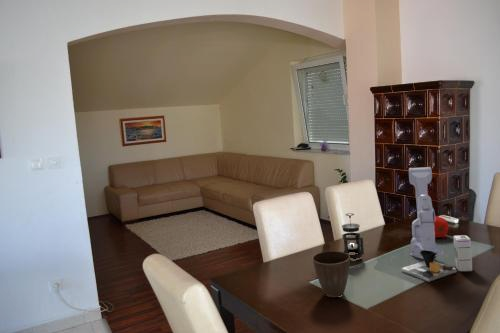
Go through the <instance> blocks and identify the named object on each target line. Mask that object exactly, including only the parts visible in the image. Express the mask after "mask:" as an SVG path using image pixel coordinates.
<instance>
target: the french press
mask: <svg viewBox="0 0 500 333" xmlns="http://www.w3.org/2000/svg"><path fill="white" fill-rule="evenodd" d="M354 215H355V214H354V213H351V212H349V213H345V216H348V218H349V223H344V224H341V228H342V231H343V232H345V233H343V234H342V235H341V236H342V240H343V248H344V251H343V252H344V253H347V254H348V253H349V252H355V253H358V254H355V255H349V254H348V255H349V256H350V258H353V259H356V258H360V257H363V256H364V254H365V253H364V252H365V251H364V238H363V237H362V236H361V233H358V231H360V226H361V225H360V224H359V223H353V222H352V220H351V218H352V216H354ZM351 222H352V223H351ZM348 236H350V237H348ZM353 236H355V237H353ZM348 241H350V243H348ZM353 241H355V243H353Z"/></svg>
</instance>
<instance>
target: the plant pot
mask: <svg viewBox="0 0 500 333" xmlns="http://www.w3.org/2000/svg"><path fill="white" fill-rule="evenodd" d="M312 261H313V262H312V263H313V265H314V266H313V267H314V269H315V273H316V277H317V280H318V282H319V285H320V288H321V289H322V292H323V293H324V294H325V293H326V294H329V295H333V296H341V295H343V296H344V294H345V291H346V288H347V282H348V278H349V277H348V276H349V271H350V264H351V263H350V262H351V261H350V256H349V255H348V254H347V253H344V251H338V250H337V251H336V250H331V251H323V252H322V251H321V252H319V253H316V254H314V255H313V256H312Z"/></svg>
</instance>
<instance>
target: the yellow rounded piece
mask: <svg viewBox="0 0 500 333" xmlns="http://www.w3.org/2000/svg"><path fill="white" fill-rule="evenodd" d="M434 261H435V260H433V262H430V263H429V264H430V271H433V272H435V273H436V272H439V271H440V264H439V263H440V262H438V263H437V261H435V262H434Z"/></svg>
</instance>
